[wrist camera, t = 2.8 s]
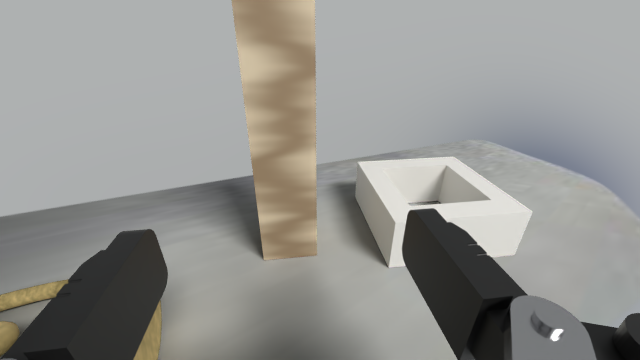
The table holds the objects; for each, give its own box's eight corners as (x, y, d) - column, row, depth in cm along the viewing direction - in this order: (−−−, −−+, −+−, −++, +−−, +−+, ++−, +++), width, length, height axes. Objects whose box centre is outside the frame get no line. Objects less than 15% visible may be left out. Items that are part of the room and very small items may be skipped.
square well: (388, 267, 20) (395, 222, 18) (355, 197, 29) (357, 161, 27) (514, 255, 21) (532, 211, 20) (445, 190, 30) (453, 156, 28)
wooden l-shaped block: (263, 260, 21) (226, -41, 13) (267, 209, 27) (243, -16, 19) (316, 255, 21) (314, -38, 13) (308, 206, 28) (302, -15, 19)
